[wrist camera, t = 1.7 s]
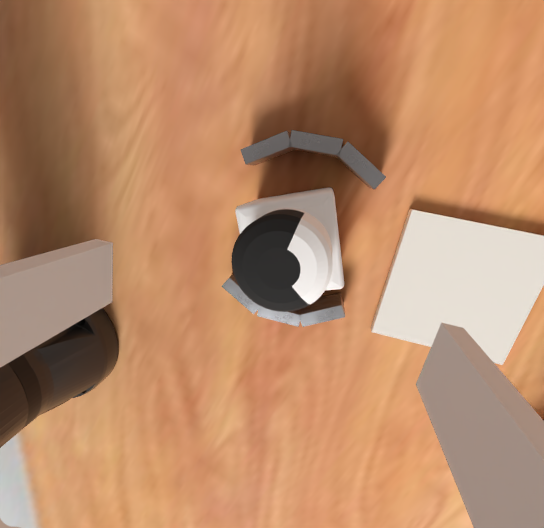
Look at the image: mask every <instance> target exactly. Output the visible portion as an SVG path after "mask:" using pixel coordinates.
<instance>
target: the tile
mask: <svg viewBox="0 0 544 528" xmlns="http://www.w3.org/2000/svg"><path fill="white" fill-rule="evenodd" d="M543 285H544V235H540V234H535V233H530V232H525V231H520V230H515V229H510V228H505V227H500V226H495V225H490V224H485V223H480V222H474V221H469V220H464V219H459V218H454V217H449V216H444V215H439V214H434V213H429V212H424V211H419V210H414V209H409V212H408V216H407V219H406V222H405V225H404V228H403V231H402V234H401V237H400V240H399V243H398V246H397V249H396V252H395V255H394V258H393V261H392V264H391V267H390V270H389V273H388V276H387V280H386V283H385V286H384V289H383V292H382V295H381V298H380V301H379V304H378V307H377V310H376V313H375V316H374V319H373V322H372V325H371V331H372V332H374V333H378V334H382V335H386V336H390V337H394V338H398V339H402V340H405V341H409V342H413V343H417V344H421V345H425V346H429V347H431V346H432V344H433V342H434V339H435V337H436V334H437V332H438V330H439V327H440V325H441V323H445V324H450V325H454V326H458V327H462V328H464V329H465V330H466V331H467V332H468V334H469V335H470V336H471V337H472V338H473V339H474V341H475V342H476V343H477V344H478V345H479V346H480V347H481V349H482V350H483V351H484V352H485V353H486V354H487V356H488V357H489V358H490V359H491V360H492V361H493V363H497V364H501V365H503V363H504V361H505V359H506V357H507V355H508V353H509V351H510V350H511V348H512V346H513V344H514V342H515V340H516V338H517V336H518V334H519V332H520V330H521V328H522V326H523V324H524V322H525V320H526V318H527V316H528V314H529V313H530V311H531V309H532V307H533V305H534V303H535V301H536V299H537V297H538V295H539V293H540V291H541V289H542V287H543Z"/></svg>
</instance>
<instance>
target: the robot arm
mask: <svg viewBox="0 0 544 528" xmlns="http://www.w3.org/2000/svg"><path fill="white" fill-rule="evenodd" d="M112 274H113V243H112V242H108V241H103V240H99V239H94V240H90V241H86V242H83V243H79V244H75V245H72V246H68V247H64V248H61V249H57V250H54V251H50V252H46V253H43V254H39V255H35V256H32V257H28V258H24V259H21V260H17V261H14V262H10V263H6V264H3V265H0V448H1V447H2V446H3V445H4V444H5V443H6V442H8V441H9V440H10V439H11V438H12V437H14V436H15V435H16V434H17V433H18V432H19V431H21V430H22V429H23V428H24V427H25V426H27V425H28V424H29V423H30V422H31V421H33V420H34V419H35V418H36V417H38V416H39V415H41V414H43V413H45V412H47V411H49V410H51V409H53V408H55V407H57V406H59V405H61V404H63V403H65V402H66V401H68V400H70V399H71V398H75V397H79V396H81V395H84V394H86V393H88V392H89V391H91V390H92V389H94V388H95V387H96V386H97V385H98V384H100V383H101V382H102V381H103V380H104V379H105V378H106V377H107V376H108V375H109V374H110V373H111V372H112V370H113V368H114V366H115V364H116V361H117V356H118V343H117V337H116V333H115V330H114V328H113V325H112V323H111V321H110V319H109V317H108V316H107V314H106V312H105V311H104V310H103V307H105V306H106V305H108V304H110V303H112ZM416 386H417V388H418V391H419V393H420V395H421V398H422V400H423V403H424V405H425V408H426V410H427V413H428V415H429V418H430V420H431V423H432V425H433V428H434V430H435V433H436V435H437V438H438V440H439V443H440V445H441V447H442V450H443V452H444V455H445V457H446V460H447V462H448V465H449V467H450V470H451V472H452V475H453V477H454V480H455V482H456V485H457V487H458V490H459V492H460V495H461V497H462V499H463V502H464V504H465V507H466V509H467V512H468V514H469V517H470V519H471V522H472V524H473V527H474V528H544V421H543V419H542V418H541V417H540V416H539V415H538V414H537V412H536V411H535V410H534V409H533V408H532V407H531V405H530V404H529V403H528V402H527V401H526V400H525V399H524V397H523V396H522V395H521V394H520V393H519V392H518V390H517V389H516V388H515V387H514V386H513V385H512V383H511V382H510V381H509V380H508V379H507V378H506V376H505V375H504V374H503V373H502V372H501V371H500V370H499V368H498V367H497V366H496V365H495V364H494V363H493V361H492V360H491V359H490V358H489V357H488V356H487V354H486V353H485V352H484V351H483V350H482V349H481V347H480V346H479V345H478V344H477V343H476V342H475V341H474V339H473V338H472V337H471V336H470V335H469V334H468V332H467V331H466V330H465V329H464V328H462V327H458V326H454V325H450V324H445V323H441V325H440V327H439V330H438V332H437V334H436V337H435V339H434V342H433V344H432V346H431V349H430V351H429V354H428V356H427V359H426V361H425V363H424V366H423V368H422V371H421V373H420V375H419V378H418V380H417V383H416Z"/></svg>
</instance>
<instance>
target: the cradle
mask: <svg viewBox="0 0 544 528" xmlns="http://www.w3.org/2000/svg"><path fill="white" fill-rule="evenodd" d="M342 143H343V139H340V138H334V137H329V136H323V135H317V134H312V133H306V132H300V131H295V130H292V132H291V134H290V133H289V132H288V131H285V132H282V133H280V134H277V135H275V136H273V137H270V138H268V139H265V140H263V141H260V142H258V143H256V144H253V145H251V146H248V147H246V148H243V149H241V152H242V155H243V158H244V161H245V164H247V165H257V164H259V163H262V162H264V161H267V160H269V159H272V158H275V157H277V156H280V155H282V154H285V153H287V152H290V151H292V150H299V151H304V152H310V153H315V154H321V155H326V156H332V157H337V158H338V159H339V160H340V161H341V162H342V163H343V164H344V165H346V166H347V167H348V168H349V169H350V170H351V171H352V172H353V173H354V174H355V175H356V176H357V177H358V178H360V179H361V180H362V181H363V182H364V183H365V184H366V185H367V186H368V187H369V188H372V189H375V188H376V187H377V186H378V185H379V184H380V183H381V182H382V181H383V180H384V179H385V178H386V176H384V175H383V174H382V173H381V172H380V171H379V170H378V169H377V168H376V167H375V166H374V165H373V164H372V163H371V162H369V161H368V160H367V159H366V158H365V157H364V156H363V155H362V154H361V153H360V152H359V151H358V150H357V149H356V148H354V147H353V146H352V145H351V144H350V143H349V142H347V143H346V144H345V145H344V146H343V148H342V149H341V147H342ZM222 287H223V288H224V289H225V290H226V291H228V292H229V293H230V294H231V295H232V296H233V297H234V298H236V299H237V300H238V301H239V302H240V303H241V304H243V305H244V306H245V307H246V308H247V309H248V310H249V311H251V312H252V313H253V314H254V313H255V312H256V311H257V310H258V315H257V316H259V317H263V318H267V319H271V320H275V321H278V322H282V323H286V324H290V325H294V326H298V327H299V323H300V321H301V324H302V326H303V327H304V326H308V325H312V324H317V323H321V322H326V321H330V320H334V319H339V318H343V317H345V310H344V302H343V299H342V296H341V293H336V294H332V295H328V296H324V297H320V298H318V299H317V300H316V301H315V302H313V303H312V304H311V305H309V306H307V307H305V308H302V309H299V310H295V311H289V312H279V311H273V310H269V309H266V308H264V307H262V306H259V305H258V304H256V303H255V302H253V301H252V300H251V299H249V298H248V297H247V296H246V295H245V294H244V293H243V291H242V290H241V288H240V287H239V285H238V283H237V282H236V279H235V277H234V273H233V274H232V275H231V276H230V277H229V279H228V280H227V281H226V282H225V283H224V284H223V285H222Z"/></svg>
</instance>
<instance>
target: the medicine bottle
mask: <svg viewBox="0 0 544 528" xmlns="http://www.w3.org/2000/svg"><path fill="white" fill-rule="evenodd" d="M235 212H236V217H237V222H238V227H239V232H240V235H239V237H238V238H237V240H236V242H235V245H234V248H233V253H232V269H233V273H234V277H235V279H236V282H237V283H238V285H239V287H240V288H241V290H242V291H243V293H244V294H245V295H246V296H247V297H248V298H249V299H251V300H252V301H253V302H255V303H256V304H258V305H259V306H262V307H264V308H266V309H269V310H273V311H279V312H289V311H295V310H299V309H302V308H305V307H307V306H309V305H311V304H312V303H313V302H315V301H316V300H317V299H318V298H319V297H320V296H321V295H322V294H323V293H324V291H325V290H336V289H342V288H343V287H344V276H343V267H342V258H341V249H340V240H339V232H338V223H337V214H336V205H335V196H334V192H333V189H332V188H331V187H327V188H321V189H315V190H309V191H303V192H297V193H291V194H285V195H279V196H273V197H267V198H261V199H257V200H254V201H251V202H248V203H245V204H243V205H240V206H237V208H236V211H235Z"/></svg>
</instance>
